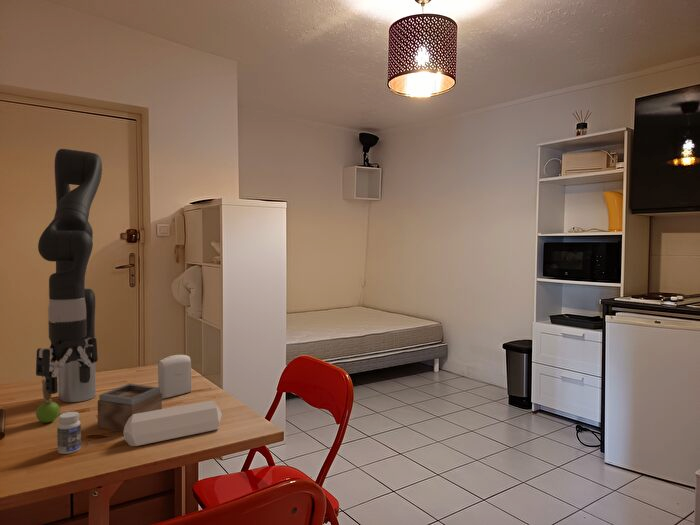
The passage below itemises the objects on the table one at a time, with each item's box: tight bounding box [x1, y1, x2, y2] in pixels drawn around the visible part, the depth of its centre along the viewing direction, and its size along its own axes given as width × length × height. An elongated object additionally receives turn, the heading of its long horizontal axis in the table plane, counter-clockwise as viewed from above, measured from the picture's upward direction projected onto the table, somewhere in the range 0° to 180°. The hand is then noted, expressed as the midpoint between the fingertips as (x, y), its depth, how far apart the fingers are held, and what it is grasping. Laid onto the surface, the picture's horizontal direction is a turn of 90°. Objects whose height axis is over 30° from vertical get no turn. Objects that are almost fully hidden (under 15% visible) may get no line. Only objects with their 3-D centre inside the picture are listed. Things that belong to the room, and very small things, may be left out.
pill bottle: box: [56, 411, 82, 455], centre depth 113 cm, size 5×5×8 cm
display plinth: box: [97, 383, 163, 432], centre depth 129 cm, size 11×11×8 cm
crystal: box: [123, 399, 223, 447], centre depth 123 cm, size 7×7×24 cm
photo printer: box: [157, 354, 192, 400], centre depth 152 cm, size 10×4×12 cm, turn 137°
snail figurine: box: [35, 376, 61, 424], centre depth 129 cm, size 5×6×12 cm
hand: (68, 387), depth 112 cm, fingers open, 8 cm apart
